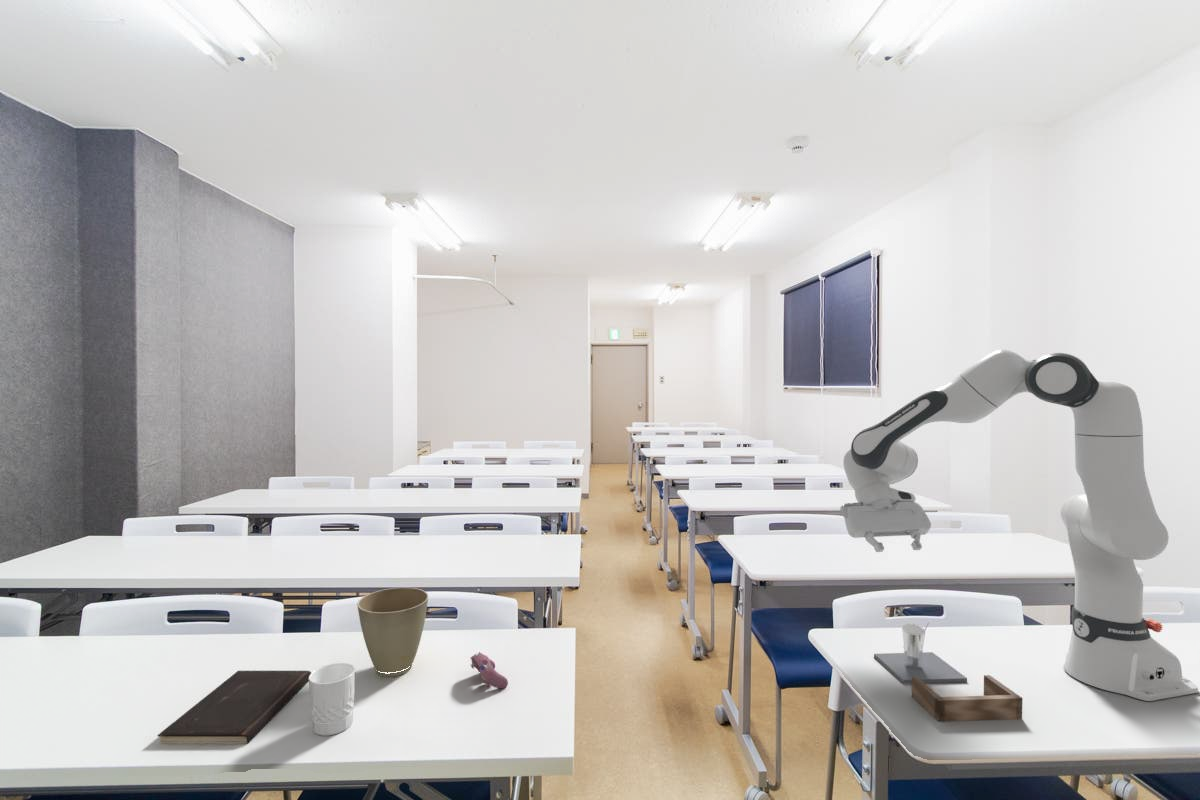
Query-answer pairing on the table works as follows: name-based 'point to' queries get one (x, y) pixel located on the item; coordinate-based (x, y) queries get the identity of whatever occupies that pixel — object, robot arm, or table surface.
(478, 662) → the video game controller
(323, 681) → the white cup
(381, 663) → the plant pot
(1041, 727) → the table surface
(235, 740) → the hardcover book
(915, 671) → the grey pad
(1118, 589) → the robot arm
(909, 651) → the milkshake
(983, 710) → the walnut cubby
